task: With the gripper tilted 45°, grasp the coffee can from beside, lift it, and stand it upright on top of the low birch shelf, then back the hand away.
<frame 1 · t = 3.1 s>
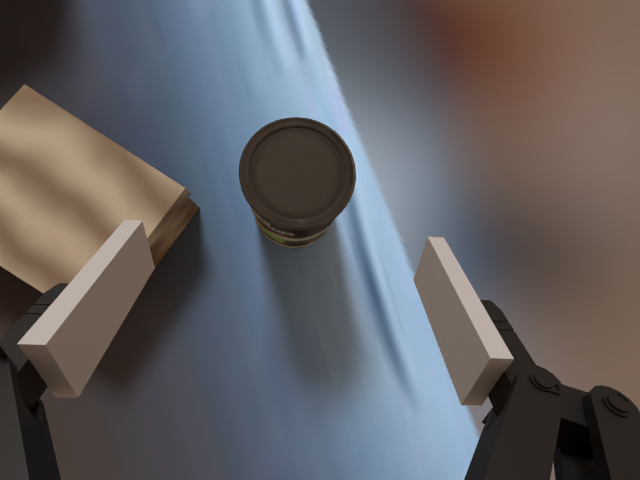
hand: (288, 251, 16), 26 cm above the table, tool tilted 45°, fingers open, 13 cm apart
birch shelf: (93, 213, 40), on the table
coffee can: (294, 209, 43), on the table
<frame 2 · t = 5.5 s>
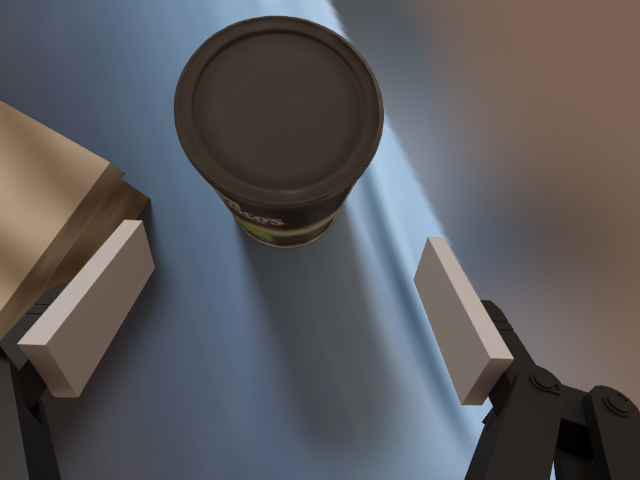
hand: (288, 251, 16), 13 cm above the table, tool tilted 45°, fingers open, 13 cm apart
coffee can: (287, 193, 30), on the table
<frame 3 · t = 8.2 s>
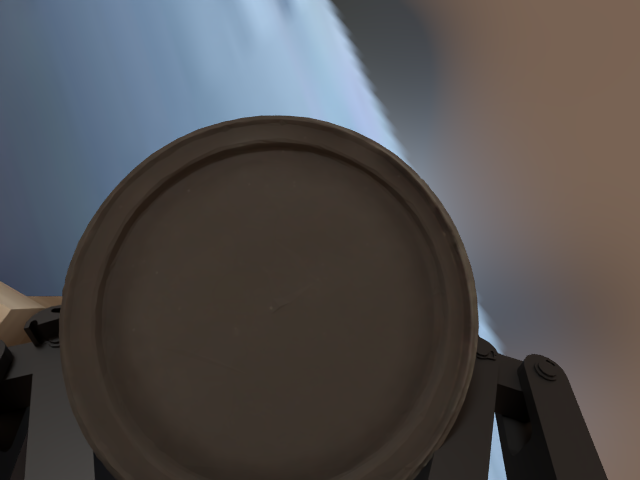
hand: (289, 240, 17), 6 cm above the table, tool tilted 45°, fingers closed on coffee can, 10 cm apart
coffee can: (288, 300, 22), on the table, touching gripper
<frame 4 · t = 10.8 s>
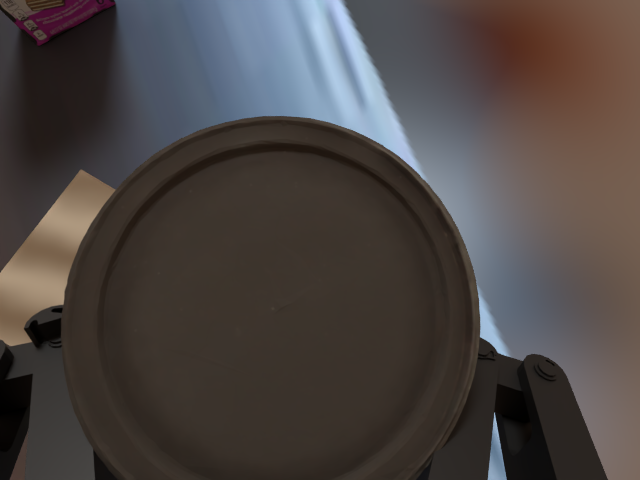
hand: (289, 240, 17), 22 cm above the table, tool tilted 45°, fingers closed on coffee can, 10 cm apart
candy bar box: (71, 14, 42), on the table
birch shelf: (151, 296, 37), on the table
coffee can: (289, 300, 22), point 16 cm above the table, touching gripper
when the fingers open (14 cm above the table, at t = 13.7 s): coffee can drops 1 cm, resting on birch shelf.
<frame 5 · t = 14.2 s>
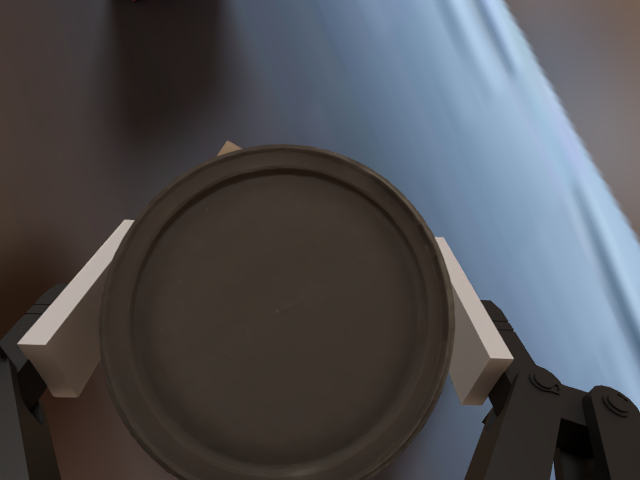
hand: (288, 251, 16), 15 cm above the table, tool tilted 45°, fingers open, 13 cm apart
coffee can: (290, 301, 24), point 7 cm above the table, touching birch shelf
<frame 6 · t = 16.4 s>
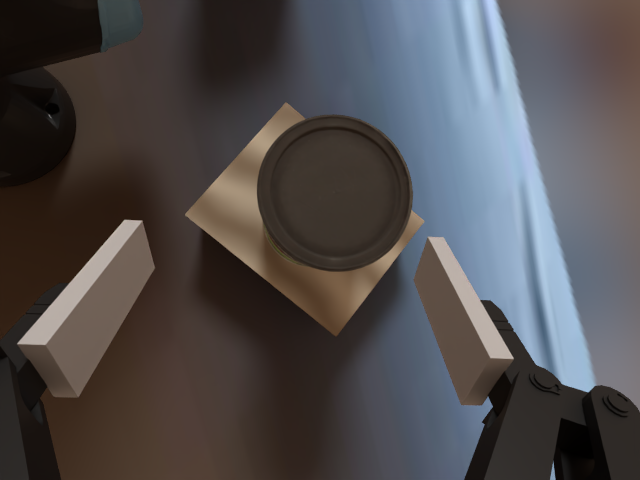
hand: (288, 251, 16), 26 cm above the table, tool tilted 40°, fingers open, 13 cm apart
birch shelf: (304, 225, 42), on the table
coffee can: (311, 219, 35), point 7 cm above the table, touching birch shelf
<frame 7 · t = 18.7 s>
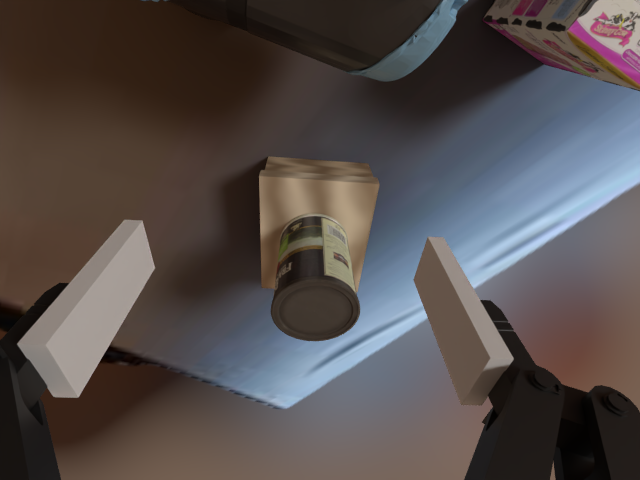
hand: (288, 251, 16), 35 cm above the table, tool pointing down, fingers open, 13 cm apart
candy bar box: (526, 25, 40), on the table
birch shelf: (313, 217, 55), on the table
coffee can: (314, 241, 50), point 7 cm above the table, touching birch shelf
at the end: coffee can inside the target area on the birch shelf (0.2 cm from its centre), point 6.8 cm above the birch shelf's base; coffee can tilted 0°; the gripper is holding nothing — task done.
